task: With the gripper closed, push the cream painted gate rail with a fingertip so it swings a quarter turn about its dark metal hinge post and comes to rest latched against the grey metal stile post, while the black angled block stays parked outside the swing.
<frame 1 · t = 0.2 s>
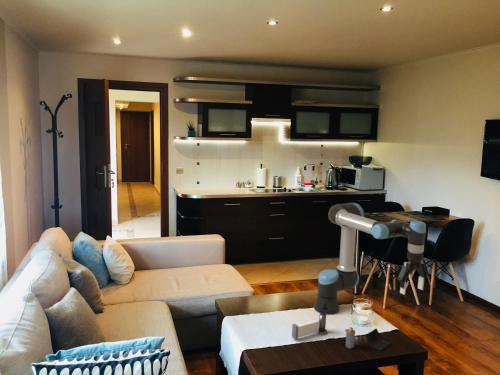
hand: (411, 291, 214), 28 cm above the table, fingers open, 13 cm apart
black angled block: (377, 345, 214), on the table
stile post: (349, 346, 211), on the table
hinge post: (321, 332, 225), on the table
gate: (305, 328, 219), point 5 cm above the table, hinge at 0.0°
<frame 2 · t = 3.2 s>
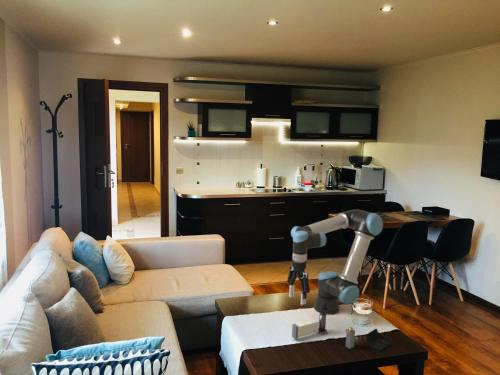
hand: (297, 300, 223), 18 cm above the table, fingers open, 10 cm apart
nothing on the table moved.
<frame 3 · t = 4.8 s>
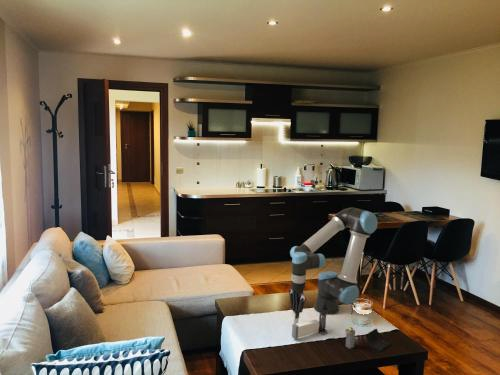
hand: (295, 322, 225), 5 cm above the table, fingers closed
nothing on the table moved.
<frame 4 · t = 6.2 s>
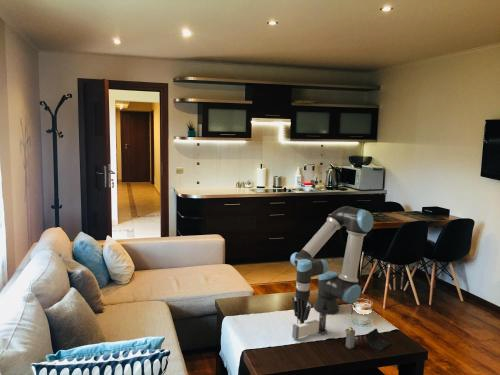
hand: (300, 330, 222), 2 cm above the table, fingers closed
gate: (306, 328, 219), point 5 cm above the table, hinge at 1.3°, touching gripper
everything else where it was.
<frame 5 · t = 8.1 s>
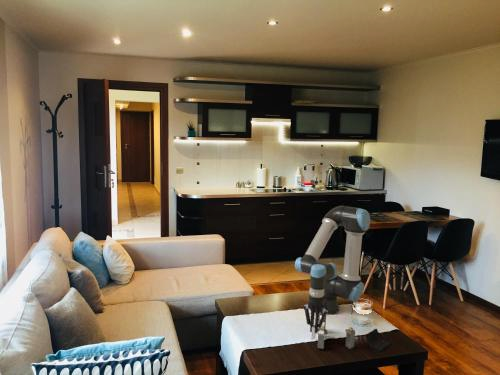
hand: (313, 338, 215), 2 cm above the table, fingers closed
gate: (321, 334, 214), point 5 cm above the table, hinge at 48.3°, touching gripper
everything else where it was.
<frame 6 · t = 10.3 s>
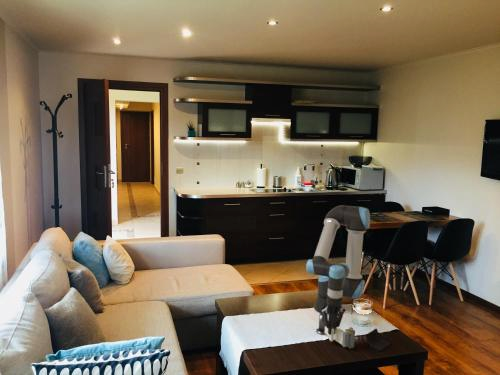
hand: (330, 339, 213), 2 cm above the table, fingers closed
gate: (336, 333, 215), point 5 cm above the table, hinge at 90.9°, touching gripper, stile post
everything else where it was.
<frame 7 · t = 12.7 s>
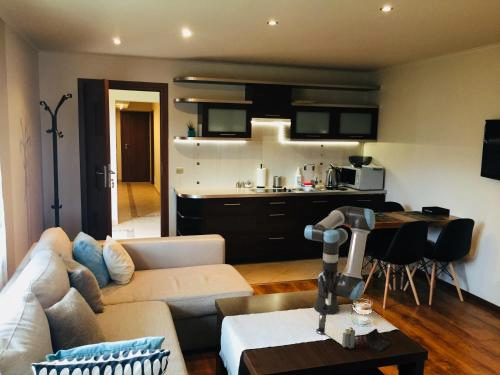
hand: (328, 303, 215), 20 cm above the table, fingers closed
gate: (336, 333, 215), point 5 cm above the table, hinge at 90.9°, touching stile post
everything else where it was.
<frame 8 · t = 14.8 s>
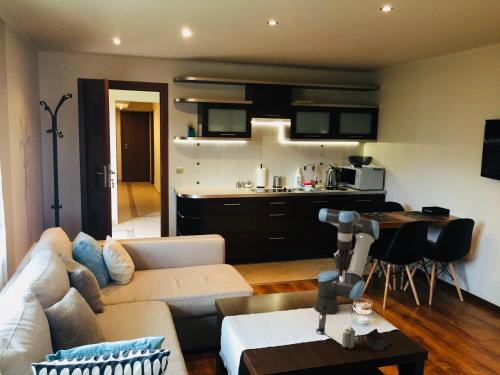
hand: (341, 281, 228), 26 cm above the table, fingers closed
nothing on the table moved.
at the end: gate at +91° (first picture: +0°); black angled block moved 0.5 cm from its start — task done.
